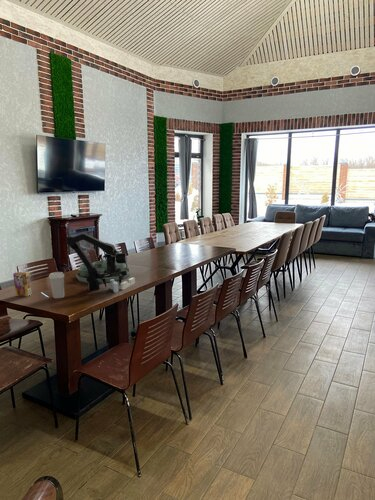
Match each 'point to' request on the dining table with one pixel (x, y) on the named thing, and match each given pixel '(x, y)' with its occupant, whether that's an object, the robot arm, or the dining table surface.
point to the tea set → (103, 268)
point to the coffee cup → (57, 284)
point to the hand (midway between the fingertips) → (112, 286)
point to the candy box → (22, 283)
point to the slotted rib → (127, 283)
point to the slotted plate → (114, 285)
